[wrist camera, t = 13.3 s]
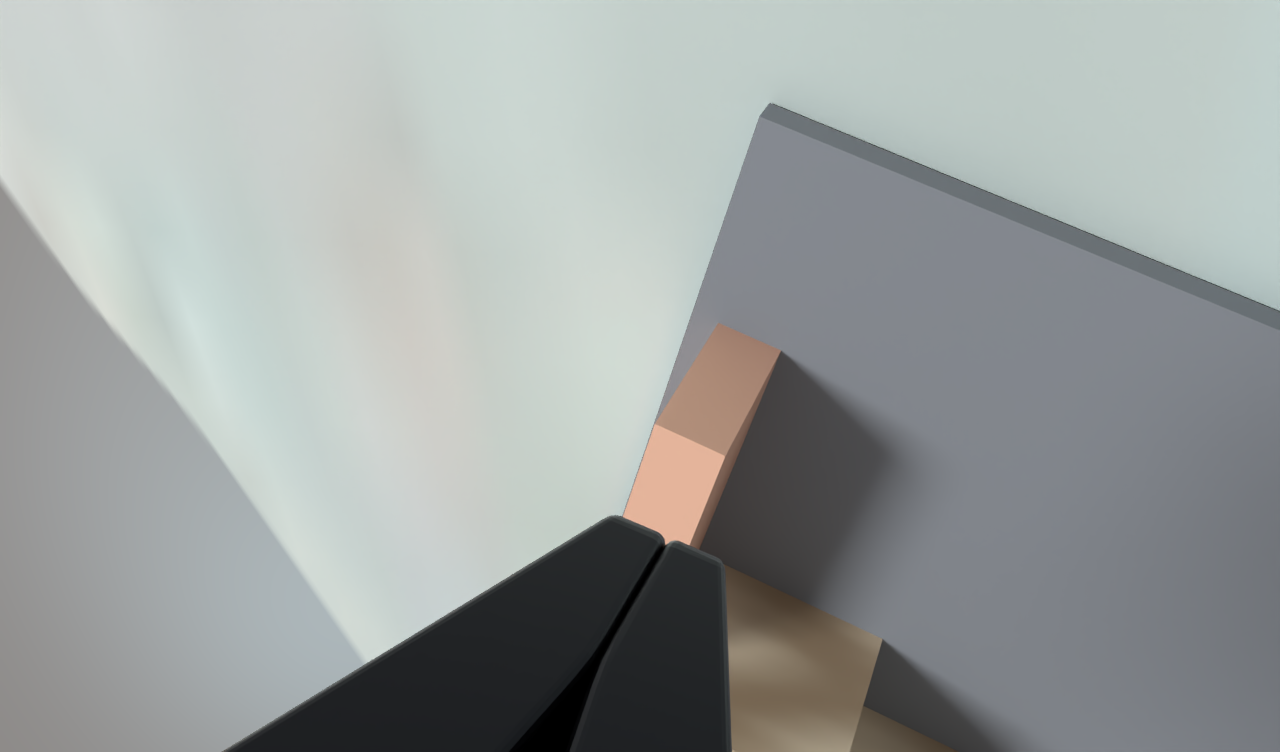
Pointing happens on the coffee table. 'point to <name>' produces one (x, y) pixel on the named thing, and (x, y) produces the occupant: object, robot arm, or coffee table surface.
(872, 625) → the slate mat
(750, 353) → the block
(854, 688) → the t block
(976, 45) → the coffee table surface
